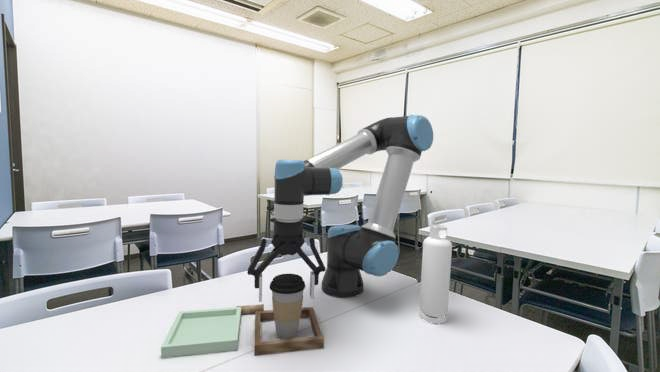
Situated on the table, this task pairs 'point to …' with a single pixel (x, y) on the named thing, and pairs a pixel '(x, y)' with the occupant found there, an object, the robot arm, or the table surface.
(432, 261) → the bottle
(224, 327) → the sage tray
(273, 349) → the walnut frame
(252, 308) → the birch dowel
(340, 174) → the robot arm
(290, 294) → the coffee cup
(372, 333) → the table surface
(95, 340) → the table surface
